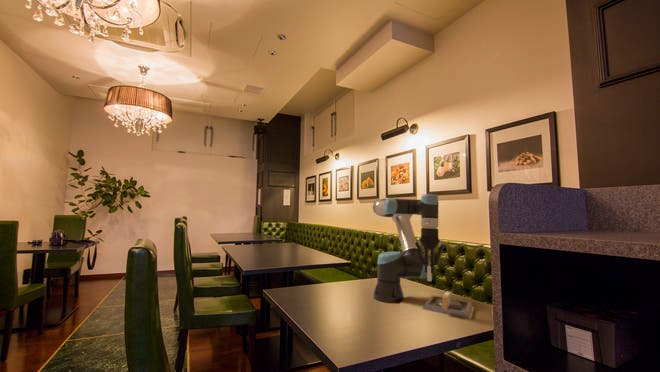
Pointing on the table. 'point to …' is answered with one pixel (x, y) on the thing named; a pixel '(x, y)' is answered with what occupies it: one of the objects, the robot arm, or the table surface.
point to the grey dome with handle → (448, 303)
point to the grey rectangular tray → (466, 309)
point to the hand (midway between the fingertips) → (429, 280)
